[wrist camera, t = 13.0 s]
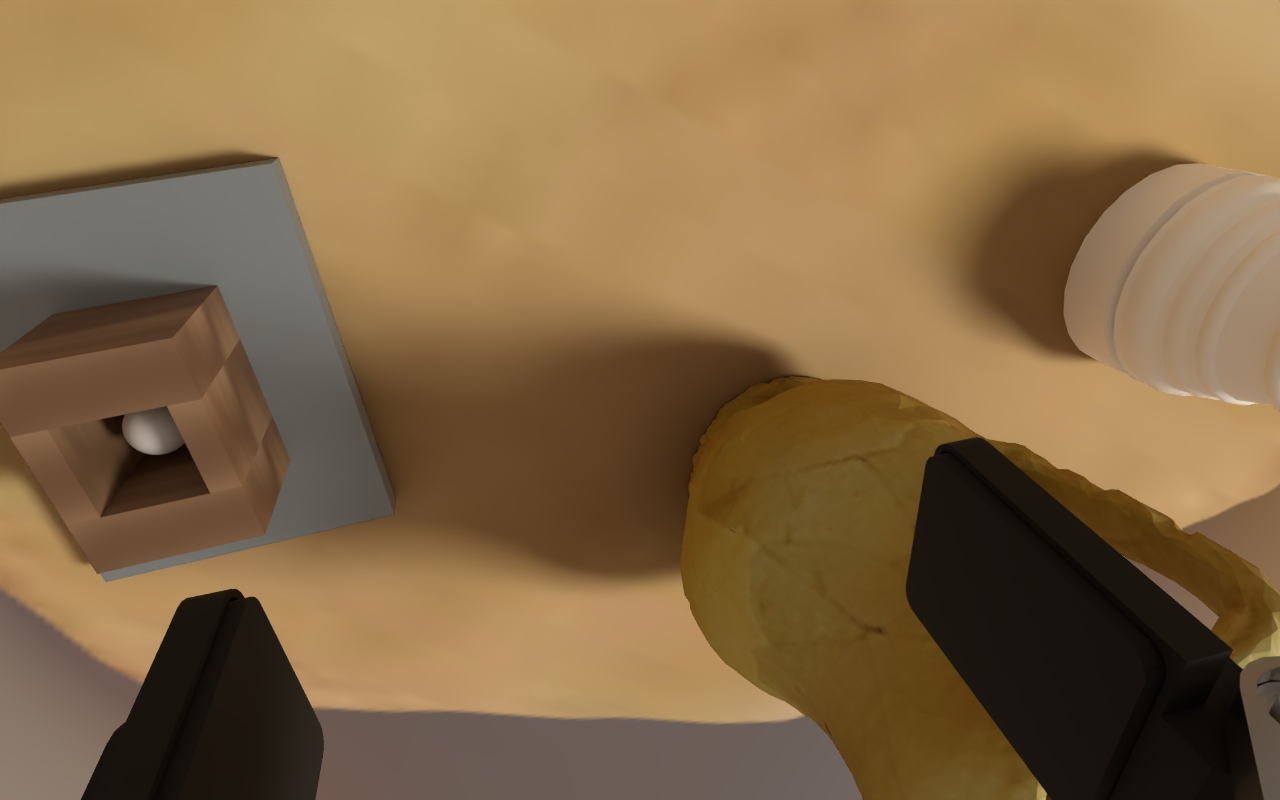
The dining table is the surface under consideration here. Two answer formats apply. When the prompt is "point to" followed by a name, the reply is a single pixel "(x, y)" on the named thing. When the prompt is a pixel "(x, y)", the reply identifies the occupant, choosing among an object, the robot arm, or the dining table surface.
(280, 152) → the dining table surface
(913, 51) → the dining table surface
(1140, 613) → the robot arm
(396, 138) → the dining table surface
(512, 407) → the dining table surface
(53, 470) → the block
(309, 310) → the base plate
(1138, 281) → the honey pot
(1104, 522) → the pitcher
